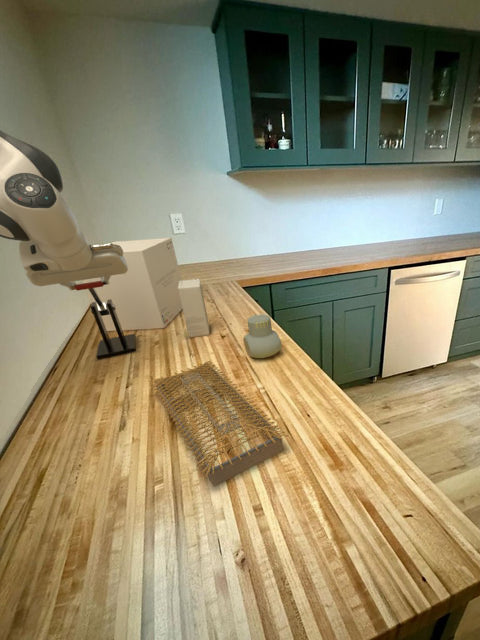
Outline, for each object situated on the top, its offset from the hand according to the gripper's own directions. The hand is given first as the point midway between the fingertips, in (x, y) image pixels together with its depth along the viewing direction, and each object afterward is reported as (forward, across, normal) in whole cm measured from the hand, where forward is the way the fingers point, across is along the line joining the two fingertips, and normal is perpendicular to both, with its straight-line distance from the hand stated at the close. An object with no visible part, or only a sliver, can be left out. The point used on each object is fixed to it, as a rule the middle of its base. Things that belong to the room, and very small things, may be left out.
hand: (89, 285), depth 85 cm
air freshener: (0, -37, +29) cm, 47 cm away
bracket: (+19, 0, +10) cm, 21 cm away
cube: (+36, -9, -8) cm, 38 cm away
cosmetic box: (+18, -24, +11) cm, 32 cm away
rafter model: (-15, -19, +45) cm, 51 cm away
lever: (+5, 0, +2) cm, 5 cm away
